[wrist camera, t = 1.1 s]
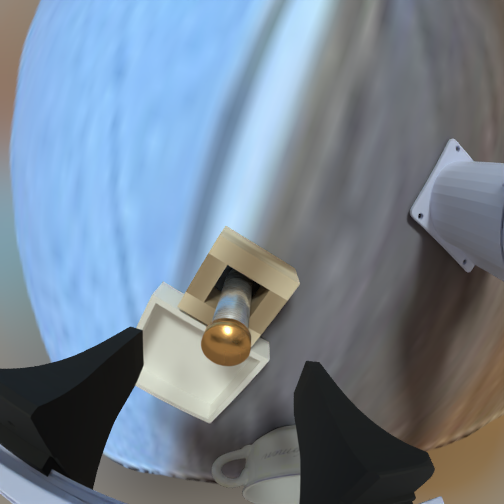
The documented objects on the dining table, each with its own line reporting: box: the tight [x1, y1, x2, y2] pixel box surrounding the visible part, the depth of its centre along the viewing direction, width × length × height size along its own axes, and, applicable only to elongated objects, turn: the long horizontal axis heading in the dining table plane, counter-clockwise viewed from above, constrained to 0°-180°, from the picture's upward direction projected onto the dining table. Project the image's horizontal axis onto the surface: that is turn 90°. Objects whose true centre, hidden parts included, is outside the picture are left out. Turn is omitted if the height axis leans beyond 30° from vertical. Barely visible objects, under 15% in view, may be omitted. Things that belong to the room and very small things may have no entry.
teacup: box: [212, 425, 300, 504], centre depth 23 cm, size 14×11×8 cm
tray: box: [135, 281, 270, 423], centre depth 22 cm, size 10×10×2 cm
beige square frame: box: [177, 226, 300, 347], centre depth 20 cm, size 6×6×3 cm
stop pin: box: [201, 269, 253, 366], centre depth 17 cm, size 2×2×9 cm
